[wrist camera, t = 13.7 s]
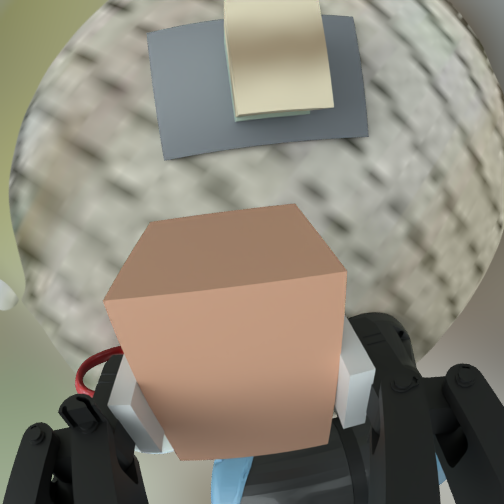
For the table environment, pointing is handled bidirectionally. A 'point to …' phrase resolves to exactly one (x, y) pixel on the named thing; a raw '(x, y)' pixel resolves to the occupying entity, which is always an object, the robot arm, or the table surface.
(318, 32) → the maple brick
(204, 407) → the terracotta brick
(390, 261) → the table surface
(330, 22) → the baseplate
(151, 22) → the table surface
